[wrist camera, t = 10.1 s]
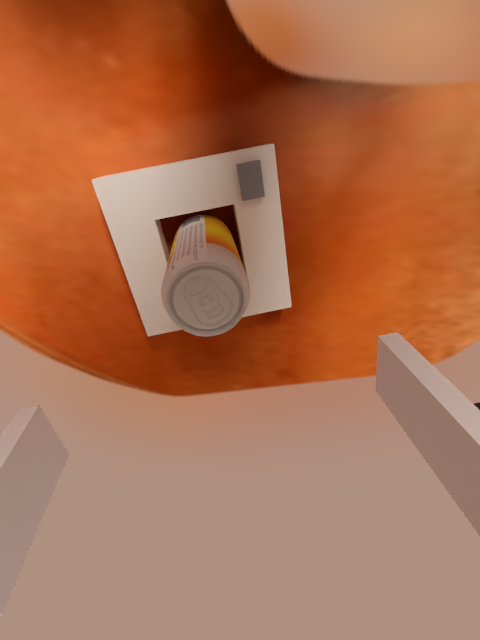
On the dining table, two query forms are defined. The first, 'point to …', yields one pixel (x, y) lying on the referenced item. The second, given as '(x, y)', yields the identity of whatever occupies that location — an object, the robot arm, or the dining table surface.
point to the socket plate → (192, 196)
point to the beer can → (205, 278)
